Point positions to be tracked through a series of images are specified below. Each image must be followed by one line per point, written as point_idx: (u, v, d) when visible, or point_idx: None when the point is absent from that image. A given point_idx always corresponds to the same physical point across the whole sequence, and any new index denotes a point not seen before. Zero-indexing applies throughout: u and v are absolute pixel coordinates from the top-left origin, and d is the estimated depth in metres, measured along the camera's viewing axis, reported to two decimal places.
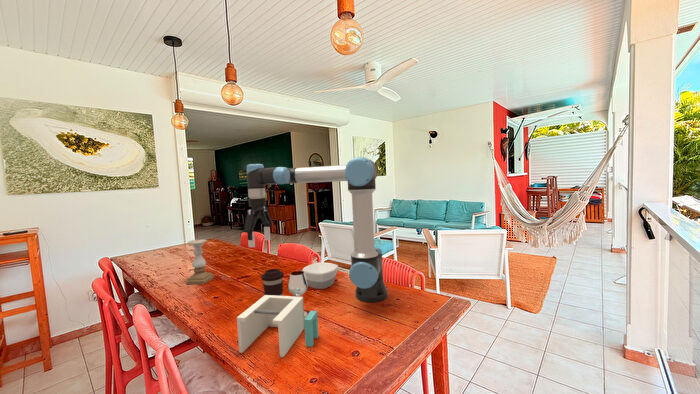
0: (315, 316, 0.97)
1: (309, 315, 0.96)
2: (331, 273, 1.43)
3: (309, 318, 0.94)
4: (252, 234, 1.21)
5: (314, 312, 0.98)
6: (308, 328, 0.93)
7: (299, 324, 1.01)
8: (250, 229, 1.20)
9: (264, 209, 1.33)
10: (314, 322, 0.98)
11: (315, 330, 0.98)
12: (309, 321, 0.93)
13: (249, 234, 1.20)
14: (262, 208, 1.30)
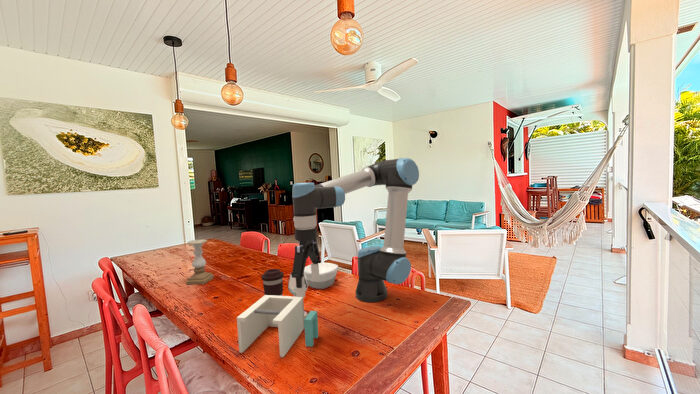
0: (315, 316, 0.97)
1: (309, 315, 0.96)
2: (331, 273, 1.43)
3: (309, 318, 0.94)
4: (302, 279, 0.88)
5: (314, 312, 0.98)
6: (308, 328, 0.93)
7: (299, 324, 1.01)
8: (300, 274, 0.87)
9: (312, 241, 1.00)
10: (314, 322, 0.98)
11: (315, 330, 0.98)
12: (309, 321, 0.93)
13: (298, 280, 0.87)
14: (311, 241, 0.97)
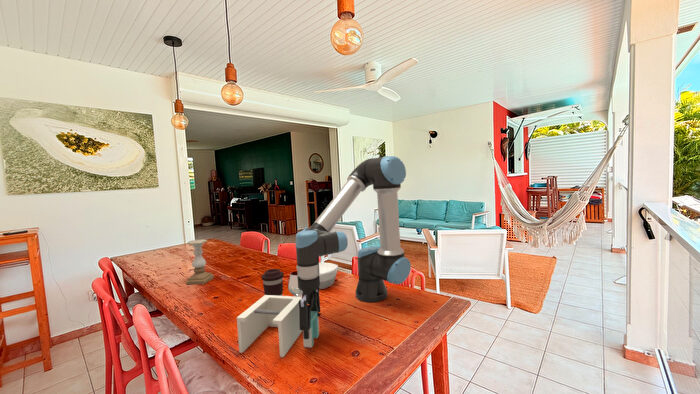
0: (315, 316, 0.97)
1: None
2: (331, 273, 1.43)
3: None
4: (309, 331, 0.92)
5: (314, 312, 0.98)
6: None
7: (299, 324, 1.01)
8: (307, 326, 0.91)
9: (315, 289, 1.01)
10: (314, 322, 0.98)
11: (315, 330, 0.98)
12: None
13: (306, 332, 0.92)
14: None
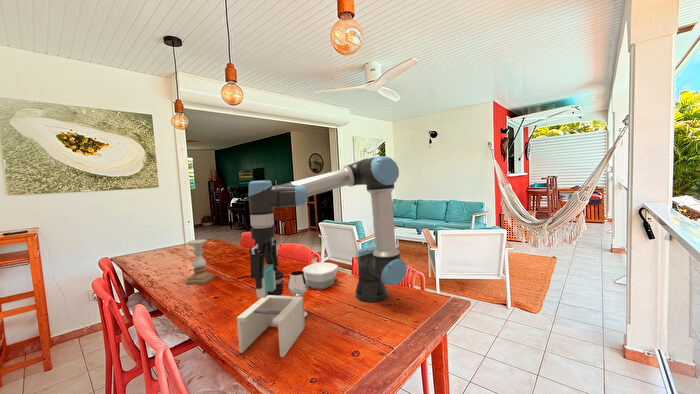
0: (270, 268, 0.95)
1: None
2: (331, 273, 1.43)
3: None
4: (261, 280, 0.91)
5: (269, 265, 0.96)
6: None
7: (299, 324, 1.01)
8: (259, 274, 0.89)
9: (271, 242, 0.99)
10: (269, 275, 0.96)
11: (270, 283, 0.96)
12: None
13: (258, 281, 0.90)
14: (270, 239, 0.96)
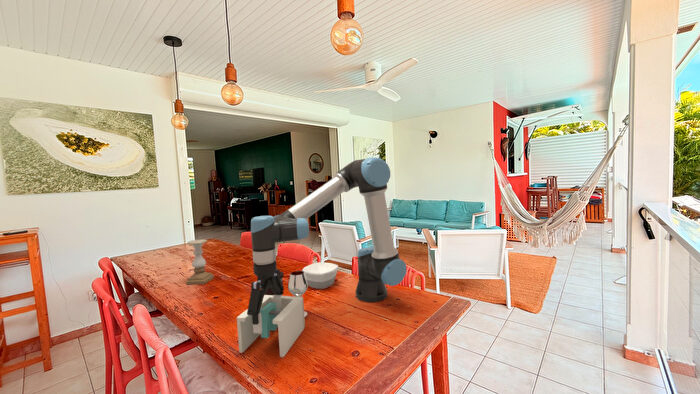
0: (273, 308, 0.96)
1: (266, 306, 0.95)
2: (331, 273, 1.43)
3: (265, 309, 0.93)
4: (258, 316, 0.88)
5: (272, 304, 0.97)
6: (263, 319, 0.92)
7: (299, 324, 1.01)
8: (256, 311, 0.86)
9: (274, 273, 1.00)
10: (272, 314, 0.97)
11: None
12: (265, 312, 0.92)
13: (254, 317, 0.87)
14: (271, 274, 0.97)
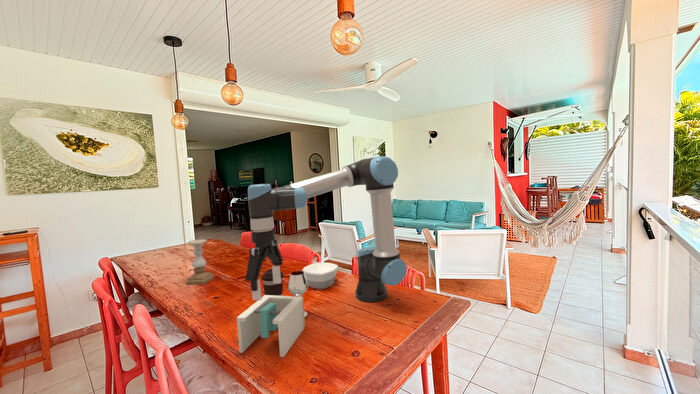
0: (273, 308, 0.96)
1: (266, 306, 0.95)
2: (331, 273, 1.43)
3: (265, 309, 0.93)
4: (257, 282, 0.88)
5: (272, 304, 0.97)
6: (263, 319, 0.92)
7: (299, 324, 1.01)
8: (254, 277, 0.86)
9: (272, 243, 0.99)
10: (272, 314, 0.97)
11: None
12: (265, 312, 0.92)
13: (253, 283, 0.87)
14: (270, 243, 0.96)
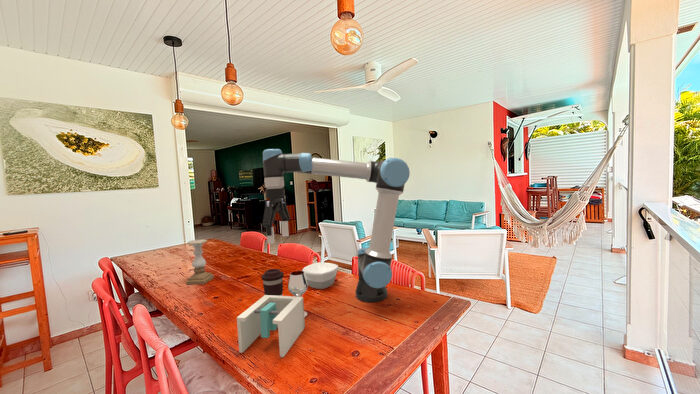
0: (273, 308, 0.96)
1: (266, 306, 0.95)
2: (331, 273, 1.43)
3: (265, 309, 0.93)
4: (271, 229, 1.06)
5: (272, 304, 0.97)
6: (264, 319, 0.92)
7: (299, 324, 1.01)
8: (270, 223, 1.04)
9: (282, 201, 1.17)
10: (272, 314, 0.97)
11: None
12: (265, 312, 0.92)
13: (268, 229, 1.05)
14: (280, 200, 1.14)
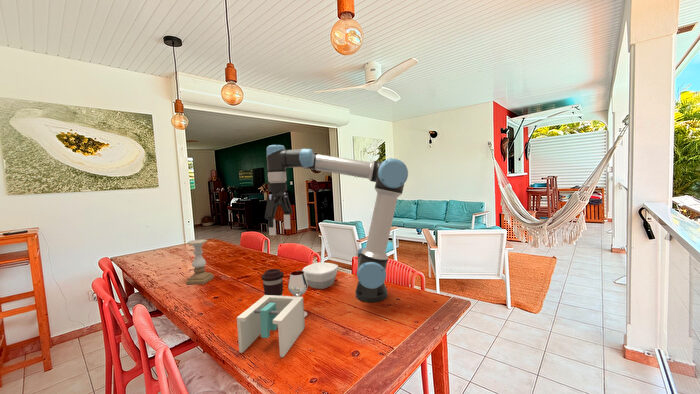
0: (273, 308, 0.96)
1: (266, 306, 0.95)
2: (331, 273, 1.43)
3: (265, 309, 0.93)
4: (273, 221, 1.11)
5: (272, 304, 0.97)
6: (264, 319, 0.92)
7: (299, 324, 1.01)
8: (271, 215, 1.09)
9: (284, 195, 1.23)
10: (272, 314, 0.97)
11: None
12: (265, 312, 0.92)
13: (270, 221, 1.10)
14: (282, 194, 1.20)
